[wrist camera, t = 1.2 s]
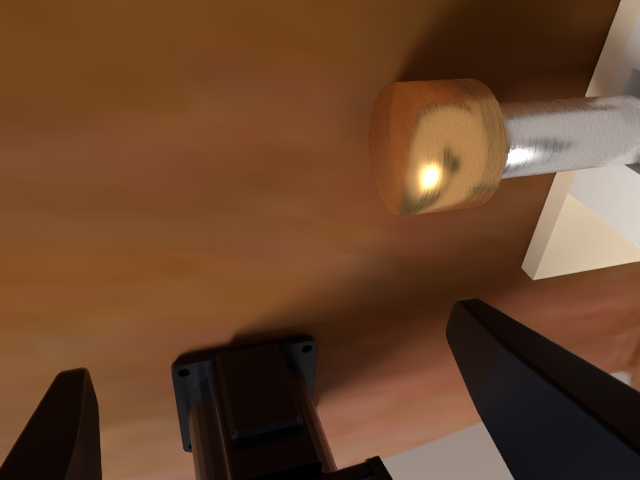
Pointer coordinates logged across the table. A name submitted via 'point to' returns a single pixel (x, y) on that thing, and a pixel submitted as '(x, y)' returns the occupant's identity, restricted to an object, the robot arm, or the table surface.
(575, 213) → the bearing block
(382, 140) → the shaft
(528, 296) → the table surface
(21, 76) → the table surface
